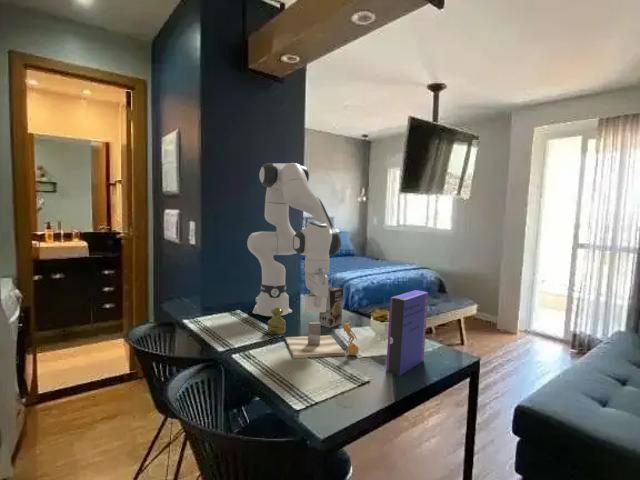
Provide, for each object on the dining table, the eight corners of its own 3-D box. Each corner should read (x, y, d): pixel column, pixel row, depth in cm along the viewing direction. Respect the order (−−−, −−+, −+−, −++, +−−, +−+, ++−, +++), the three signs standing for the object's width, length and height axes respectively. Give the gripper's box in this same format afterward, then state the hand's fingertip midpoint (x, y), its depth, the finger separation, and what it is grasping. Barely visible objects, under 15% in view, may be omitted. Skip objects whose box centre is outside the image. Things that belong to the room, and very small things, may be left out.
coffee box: (330, 328, 164) (332, 291, 162) (318, 325, 167) (320, 288, 166) (342, 323, 171) (344, 288, 170) (330, 320, 175) (332, 285, 173)
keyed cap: (322, 308, 141) (323, 293, 141) (326, 312, 137) (326, 296, 136) (304, 309, 140) (305, 293, 139) (307, 312, 135) (308, 296, 135)
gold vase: (282, 336, 151) (283, 311, 150) (264, 334, 152) (265, 309, 152) (287, 330, 158) (288, 306, 157) (270, 328, 160) (271, 305, 159)
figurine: (363, 358, 131) (365, 324, 130) (348, 360, 129) (350, 325, 128) (351, 350, 139) (353, 317, 138) (337, 352, 136) (338, 319, 135)
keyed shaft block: (285, 340, 146) (286, 316, 145) (330, 338, 150) (331, 315, 150) (293, 358, 129) (294, 331, 128) (344, 355, 133) (346, 329, 132)
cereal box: (410, 356, 135) (415, 289, 133) (423, 360, 132) (428, 291, 130) (386, 371, 121) (390, 297, 119) (399, 376, 118) (404, 299, 116)
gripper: (333, 271, 128) (331, 312, 129) (318, 263, 148) (317, 298, 149) (315, 271, 126) (313, 312, 127) (302, 263, 146) (301, 298, 147)
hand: (315, 305), depth 138 cm, fingers closed on keyed cap, 5 cm apart
